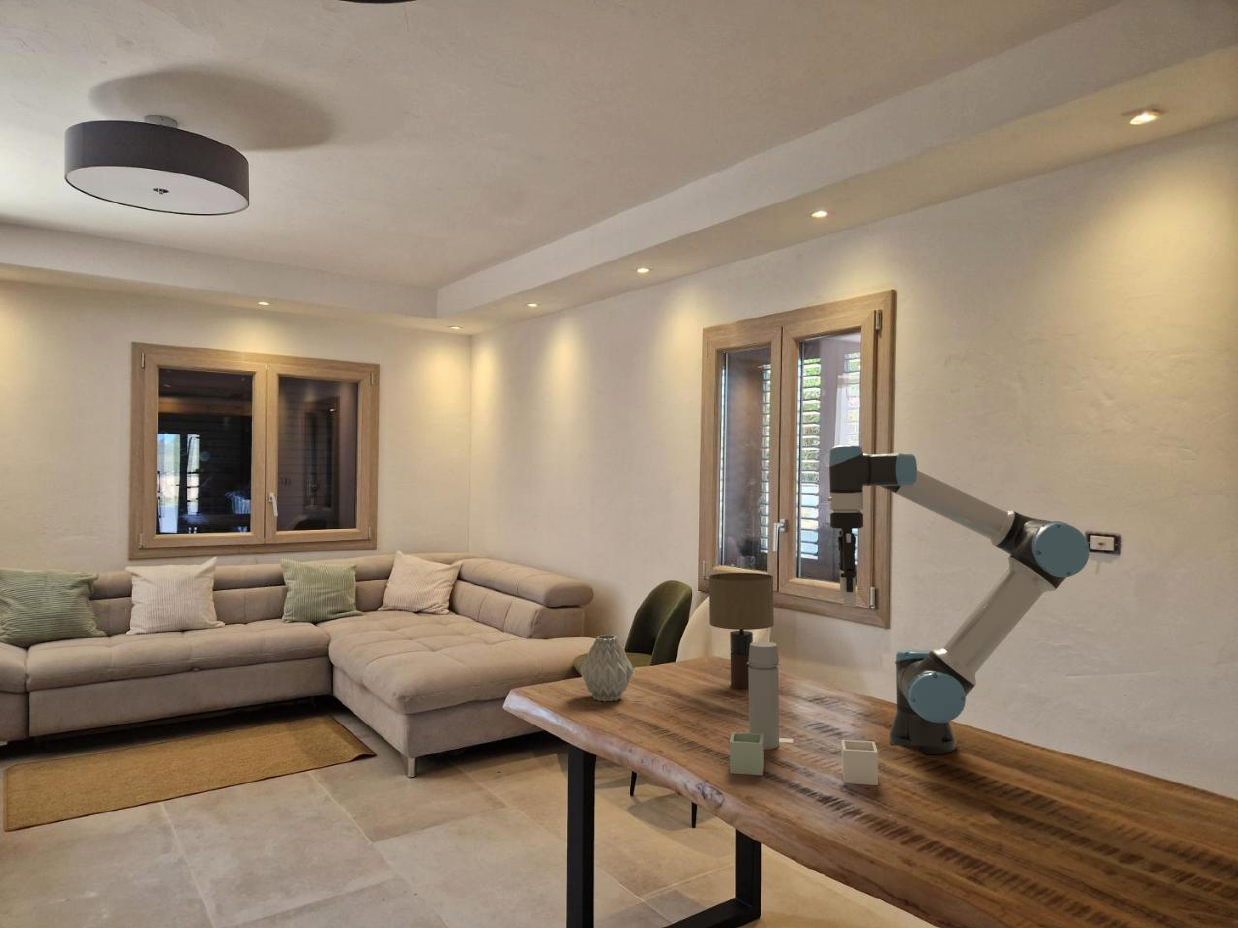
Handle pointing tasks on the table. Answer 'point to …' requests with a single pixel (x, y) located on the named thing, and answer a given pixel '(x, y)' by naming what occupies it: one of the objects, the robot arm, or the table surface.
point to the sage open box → (747, 753)
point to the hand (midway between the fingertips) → (847, 601)
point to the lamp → (740, 614)
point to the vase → (606, 669)
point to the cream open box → (859, 762)
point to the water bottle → (764, 692)
